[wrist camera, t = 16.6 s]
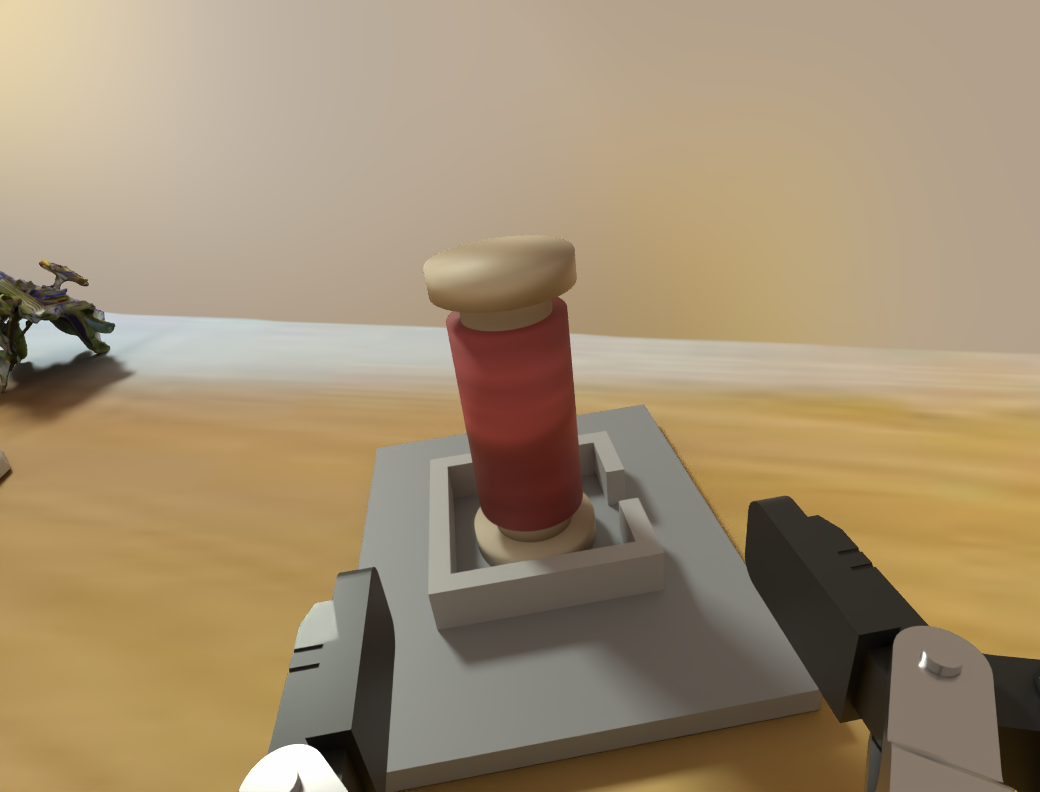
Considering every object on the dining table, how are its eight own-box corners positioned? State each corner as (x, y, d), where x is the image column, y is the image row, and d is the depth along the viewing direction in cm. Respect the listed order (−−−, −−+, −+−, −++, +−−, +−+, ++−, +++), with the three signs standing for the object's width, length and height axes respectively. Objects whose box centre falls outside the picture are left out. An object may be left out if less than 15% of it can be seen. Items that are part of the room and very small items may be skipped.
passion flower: (123, 405, 58) (148, 304, 52) (-8, 450, 48) (7, 331, 42) (41, 334, 59) (57, 228, 53) (-101, 364, 50) (-100, 238, 44)
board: (819, 709, 19) (831, 648, 17) (333, 803, 18) (306, 747, 17) (644, 419, 35) (643, 376, 33) (381, 463, 34) (369, 419, 32)
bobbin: (581, 586, 23) (551, 280, 17) (459, 568, 25) (395, 281, 19) (606, 503, 27) (589, 232, 21) (500, 492, 29) (458, 237, 23)
